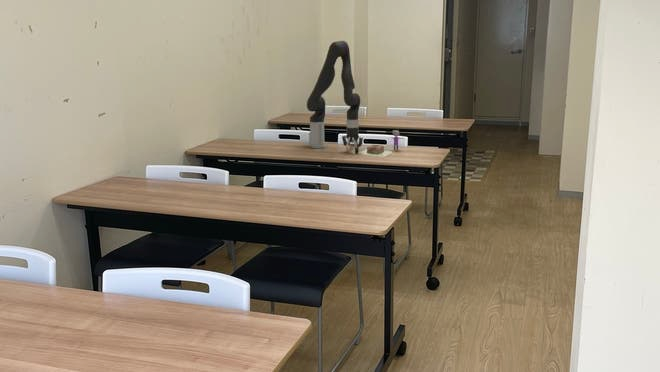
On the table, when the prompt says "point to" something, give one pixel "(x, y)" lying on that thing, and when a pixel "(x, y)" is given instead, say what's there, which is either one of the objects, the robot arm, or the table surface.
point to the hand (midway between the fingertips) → (352, 152)
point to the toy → (396, 139)
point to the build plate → (376, 154)
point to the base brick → (375, 149)
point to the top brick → (351, 148)
